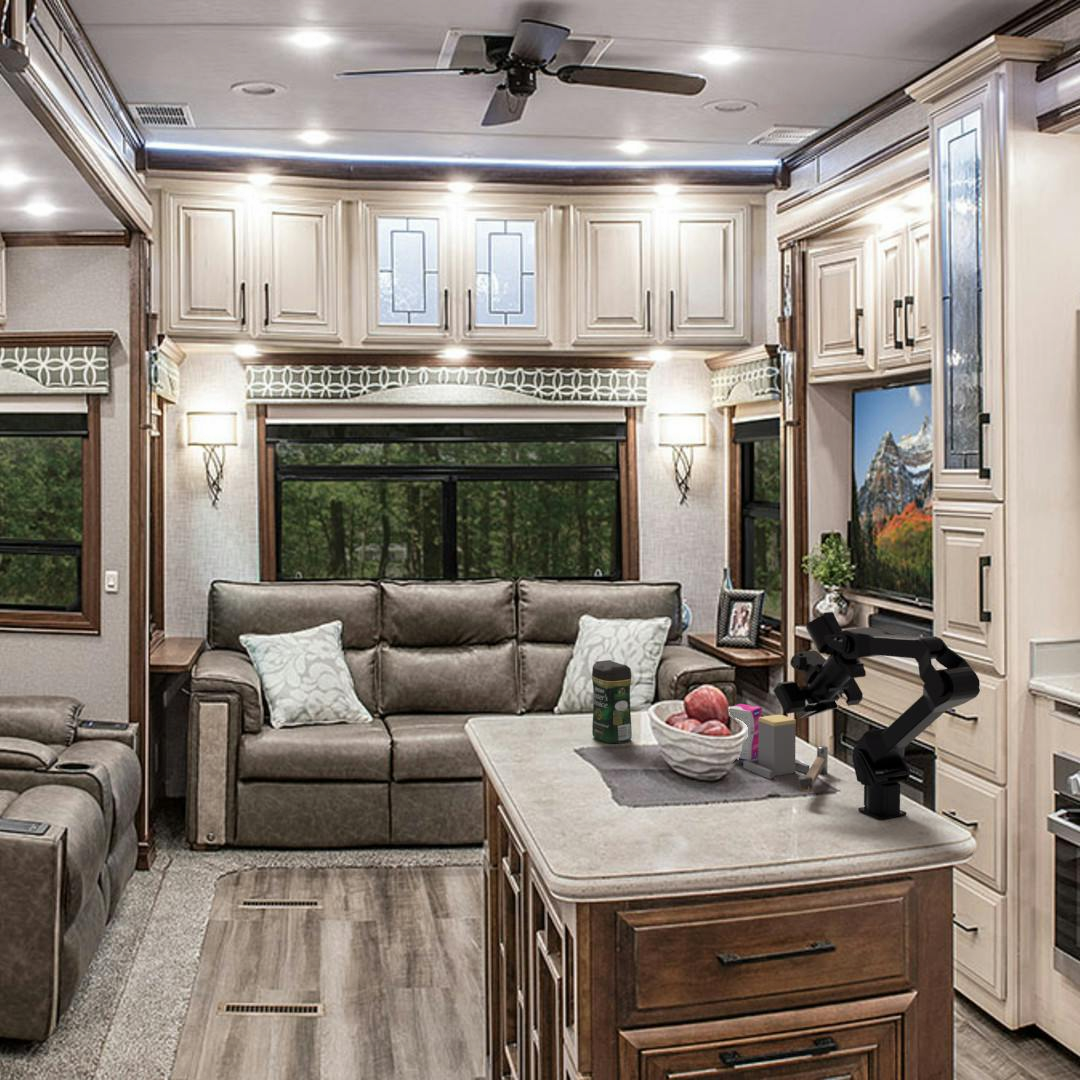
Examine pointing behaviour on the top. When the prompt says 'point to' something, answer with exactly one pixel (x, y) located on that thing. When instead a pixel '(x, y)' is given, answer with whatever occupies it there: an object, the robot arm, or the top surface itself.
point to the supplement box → (752, 721)
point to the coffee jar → (611, 702)
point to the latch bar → (811, 774)
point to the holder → (756, 768)
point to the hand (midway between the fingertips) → (800, 716)
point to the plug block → (777, 743)
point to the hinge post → (823, 752)
